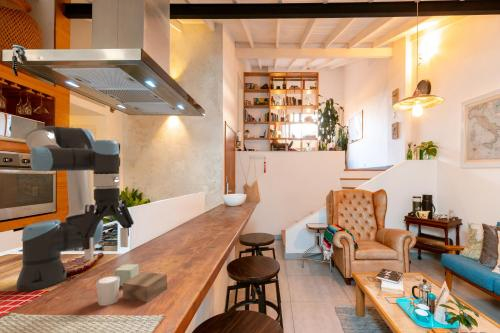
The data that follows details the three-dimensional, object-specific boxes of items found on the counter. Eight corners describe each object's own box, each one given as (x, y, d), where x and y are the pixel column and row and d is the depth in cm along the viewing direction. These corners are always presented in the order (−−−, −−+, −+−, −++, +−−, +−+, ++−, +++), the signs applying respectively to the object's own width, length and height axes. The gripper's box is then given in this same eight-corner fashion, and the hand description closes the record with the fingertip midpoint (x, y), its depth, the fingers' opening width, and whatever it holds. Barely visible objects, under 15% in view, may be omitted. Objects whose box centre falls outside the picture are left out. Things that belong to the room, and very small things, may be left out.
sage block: (115, 286, 97) (114, 270, 97) (124, 279, 103) (123, 264, 103) (130, 286, 96) (130, 270, 96) (138, 280, 102) (138, 264, 102)
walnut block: (123, 298, 87) (122, 282, 87) (144, 285, 97) (144, 271, 97) (147, 302, 84) (147, 286, 84) (167, 288, 93) (166, 274, 93)
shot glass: (93, 308, 81) (93, 285, 81) (99, 298, 88) (99, 276, 88) (117, 304, 83) (117, 282, 83) (122, 294, 90) (121, 274, 90)
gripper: (79, 190, 73) (80, 267, 73) (143, 185, 97) (144, 243, 96) (60, 190, 76) (61, 264, 75) (127, 185, 99) (128, 242, 99)
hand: (108, 252), depth 86 cm, fingers open, 13 cm apart
